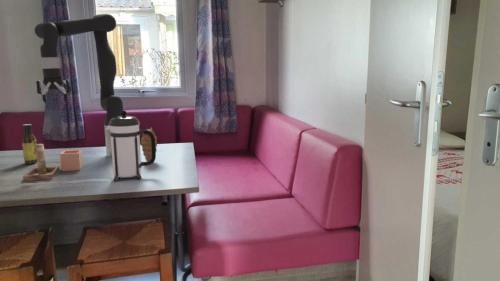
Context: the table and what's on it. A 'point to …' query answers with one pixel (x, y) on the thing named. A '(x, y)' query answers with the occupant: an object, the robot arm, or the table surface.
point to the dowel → (40, 159)
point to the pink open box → (71, 160)
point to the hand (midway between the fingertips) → (55, 102)
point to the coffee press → (128, 146)
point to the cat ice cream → (147, 145)
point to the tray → (34, 175)
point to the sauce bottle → (29, 145)
